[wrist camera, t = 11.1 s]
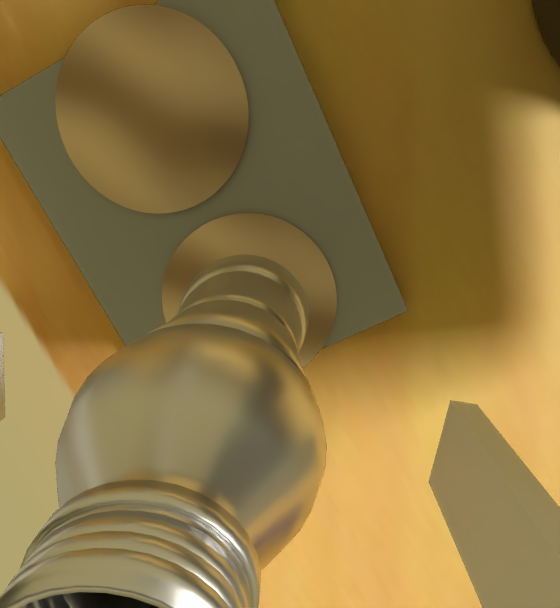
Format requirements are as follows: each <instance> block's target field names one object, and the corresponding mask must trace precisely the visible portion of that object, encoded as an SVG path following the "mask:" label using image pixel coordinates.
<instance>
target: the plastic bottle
mask: <svg viewBox="0 0 560 608" xmlns="http://www.w3.org/2000/svg"><path fill="white" fill-rule="evenodd" d="M308 324H309V308H308V302H307V298H306V296H305V293H304V290H303V288H302V287H301V285H300V284H299V282H298V281H297V279H296V278H295V277H294V276H293V275H292V274H291V273H290V272H289V271H288V270H287V269H286V268H284V267H283V266H281V265H280V264H278V263H277V262H275V261H272V260H270V259H267V258H265V257H260V256H255V255H234V256H229V257H225V258H222V259H220V260H217V261H215V262H213V263H211V264H210V265H208V266H207V267H205V268H203V269H202V270H201V271H200V272H199V273H198V274H197V275H196V276H195V277H194V278H193V279H192V281H191V282H190V284H189V285H188V287H187V289H186V291H185V293H184V295H183V298H182V300H181V303H180V305H179V309H178V313H177V315H176V316H175V317H174V318H172V319H171V320H170V321H169V322H168V323H166V324H164V325H162V326H160V327H158V328H156V329H154V330H152V331H151V332H149V333H147V334H145V335H143V336H140V337H139V338H137V339H135V340H134V341H132V342H131V343H129V344H128V345H126V346H124V347H123V348H121V349H120V350H118V351H117V352H116V353H114V354H113V355H112V356H110V357H109V358H107V359H106V360H105V361H104V362H103V363H102V364H101V365H100V366H98V367H97V368H96V369H95V370H94V371H93V372H92V373H91V374H90V375H89V376H88V377H87V379H86V380H85V382H84V383H83V385H82V386H81V388H80V389H79V391H78V392H77V394H76V395H75V397H74V400H73V402H72V405H71V408H70V410H69V413H68V416H67V419H66V421H65V424H64V426H63V429H62V432H61V435H60V437H59V440H58V446H57V454H56V462H55V465H56V479H57V492H58V502H59V509H58V510H57V511H56V512H55V513H53V514H52V516H51V517H50V518H49V520H48V521H47V522H46V524H45V525H44V527H43V528H42V529H41V530H40V532H39V533H38V535H37V536H36V537H35V539H34V540H33V542H32V543H31V545H30V546H29V548H28V549H27V551H26V554H25V556H24V559H23V562H22V564H21V568H20V570H19V571H18V573H17V574H16V575H15V577H14V578H13V579H12V581H11V582H10V584H9V585H8V586H7V588H6V589H5V590H4V592H3V593H2V594H1V596H0V608H258V605H259V596H260V582H261V570H262V569H263V568H265V567H266V566H267V565H268V564H269V563H270V562H271V561H272V560H273V559H274V558H275V557H276V556H277V555H278V554H279V553H280V552H281V551H282V550H283V549H284V548H285V547H286V546H287V545H288V543H289V542H290V541H291V540H292V539H293V538H294V537H295V536H296V534H297V533H298V532H299V531H300V530H301V528H302V526H303V524H304V523H305V521H306V519H307V517H308V516H309V514H310V512H311V509H312V507H313V504H314V501H315V498H316V495H317V493H318V490H319V487H320V483H321V480H322V477H323V474H324V470H325V463H326V449H327V444H326V437H325V431H324V424H323V420H322V417H321V414H320V410H319V406H318V404H317V401H316V399H315V396H314V394H313V391H312V389H311V386H310V385H309V383H308V380H307V378H306V376H305V374H304V372H303V369H302V367H301V365H300V360H299V351H300V349H301V347H302V345H303V342H304V339H305V336H306V332H307V328H308Z"/></svg>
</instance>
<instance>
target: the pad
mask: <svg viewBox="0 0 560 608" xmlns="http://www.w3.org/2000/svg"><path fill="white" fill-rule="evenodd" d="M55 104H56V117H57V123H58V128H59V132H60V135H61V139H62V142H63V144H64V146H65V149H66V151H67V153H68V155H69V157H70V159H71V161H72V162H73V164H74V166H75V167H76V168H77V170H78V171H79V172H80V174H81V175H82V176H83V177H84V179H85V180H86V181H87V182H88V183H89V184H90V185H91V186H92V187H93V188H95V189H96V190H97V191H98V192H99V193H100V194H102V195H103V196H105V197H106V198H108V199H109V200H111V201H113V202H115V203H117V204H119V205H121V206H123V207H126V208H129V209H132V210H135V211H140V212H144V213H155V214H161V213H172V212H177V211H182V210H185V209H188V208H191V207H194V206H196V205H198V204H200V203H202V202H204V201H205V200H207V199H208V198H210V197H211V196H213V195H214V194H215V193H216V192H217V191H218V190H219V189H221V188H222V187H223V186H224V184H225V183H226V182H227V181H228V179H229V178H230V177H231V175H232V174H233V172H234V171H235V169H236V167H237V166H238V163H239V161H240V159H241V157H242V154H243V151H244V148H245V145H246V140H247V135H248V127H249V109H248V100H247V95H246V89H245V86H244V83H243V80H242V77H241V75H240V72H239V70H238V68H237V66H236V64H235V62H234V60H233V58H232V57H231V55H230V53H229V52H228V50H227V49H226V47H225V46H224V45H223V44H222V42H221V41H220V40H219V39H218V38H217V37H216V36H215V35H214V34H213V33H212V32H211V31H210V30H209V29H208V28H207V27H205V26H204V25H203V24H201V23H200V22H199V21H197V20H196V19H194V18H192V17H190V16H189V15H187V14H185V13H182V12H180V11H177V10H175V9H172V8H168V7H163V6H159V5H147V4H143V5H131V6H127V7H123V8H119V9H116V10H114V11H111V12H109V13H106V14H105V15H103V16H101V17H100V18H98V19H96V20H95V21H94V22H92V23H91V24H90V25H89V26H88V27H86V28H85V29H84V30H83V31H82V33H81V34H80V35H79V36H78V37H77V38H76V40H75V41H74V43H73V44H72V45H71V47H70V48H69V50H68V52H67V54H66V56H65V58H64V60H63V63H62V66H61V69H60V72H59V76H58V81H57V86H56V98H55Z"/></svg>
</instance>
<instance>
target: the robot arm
mask: <svg viewBox="0 0 560 608" xmlns="http://www.w3.org/2000/svg"><path fill="white" fill-rule="evenodd" d="M532 1H533V6H534V11H535V15H536V19H537V22H538V25H539V28H540V31H541V34H542V36H543V38H544V40H545V43H546V45H547V47H548V48H549V50H550V52H551V54H552V55H553V57H554V58H555V60H556V61H557V63H558V64H559V65H560V0H532ZM3 418H5V391H4V354H3V333H0V421H1V420H2V419H3ZM429 484H430V486H431V488H432V491H433V493H434V495H435V498H436V500H437V502H438V505H439V507H440V509H441V512H442V514H443V516H444V519H445V521H446V523H447V526H448V528H449V530H450V533H451V535H452V537H453V540H454V542H455V544H456V547H457V549H458V551H459V554H460V556H461V558H462V561H463V563H464V565H465V568H466V570H467V572H468V575H469V577H470V579H471V582H472V584H473V586H474V589H475V591H476V593H477V596H478V598H479V600H480V603H481V605H482V607H483V608H560V507H559V506H558V505H557V504H556V502H555V501H554V500H553V499H552V497H551V496H550V495H549V494H548V492H547V491H546V490H545V489H544V487H543V486H542V485H541V484H540V482H539V481H538V480H537V479H536V477H535V476H534V475H533V474H532V472H531V471H530V470H529V469H528V467H527V466H526V465H525V464H524V462H523V461H522V460H521V459H520V457H519V456H518V455H517V454H516V452H515V451H514V450H513V449H512V448H511V446H510V445H509V444H508V443H507V441H506V440H505V439H504V438H503V436H502V435H501V434H500V433H499V431H498V430H497V429H496V428H495V426H494V425H493V424H492V423H491V421H490V420H489V419H488V418H487V416H486V415H485V414H484V413H483V411H482V410H481V409H480V408H479V406H478V405H477V404H471V403H464V402H458V401H451V400H450V404H449V408H448V411H447V415H446V419H445V423H444V426H443V430H442V434H441V438H440V441H439V445H438V449H437V453H436V456H435V460H434V464H433V467H432V471H431V475H430V479H429Z"/></svg>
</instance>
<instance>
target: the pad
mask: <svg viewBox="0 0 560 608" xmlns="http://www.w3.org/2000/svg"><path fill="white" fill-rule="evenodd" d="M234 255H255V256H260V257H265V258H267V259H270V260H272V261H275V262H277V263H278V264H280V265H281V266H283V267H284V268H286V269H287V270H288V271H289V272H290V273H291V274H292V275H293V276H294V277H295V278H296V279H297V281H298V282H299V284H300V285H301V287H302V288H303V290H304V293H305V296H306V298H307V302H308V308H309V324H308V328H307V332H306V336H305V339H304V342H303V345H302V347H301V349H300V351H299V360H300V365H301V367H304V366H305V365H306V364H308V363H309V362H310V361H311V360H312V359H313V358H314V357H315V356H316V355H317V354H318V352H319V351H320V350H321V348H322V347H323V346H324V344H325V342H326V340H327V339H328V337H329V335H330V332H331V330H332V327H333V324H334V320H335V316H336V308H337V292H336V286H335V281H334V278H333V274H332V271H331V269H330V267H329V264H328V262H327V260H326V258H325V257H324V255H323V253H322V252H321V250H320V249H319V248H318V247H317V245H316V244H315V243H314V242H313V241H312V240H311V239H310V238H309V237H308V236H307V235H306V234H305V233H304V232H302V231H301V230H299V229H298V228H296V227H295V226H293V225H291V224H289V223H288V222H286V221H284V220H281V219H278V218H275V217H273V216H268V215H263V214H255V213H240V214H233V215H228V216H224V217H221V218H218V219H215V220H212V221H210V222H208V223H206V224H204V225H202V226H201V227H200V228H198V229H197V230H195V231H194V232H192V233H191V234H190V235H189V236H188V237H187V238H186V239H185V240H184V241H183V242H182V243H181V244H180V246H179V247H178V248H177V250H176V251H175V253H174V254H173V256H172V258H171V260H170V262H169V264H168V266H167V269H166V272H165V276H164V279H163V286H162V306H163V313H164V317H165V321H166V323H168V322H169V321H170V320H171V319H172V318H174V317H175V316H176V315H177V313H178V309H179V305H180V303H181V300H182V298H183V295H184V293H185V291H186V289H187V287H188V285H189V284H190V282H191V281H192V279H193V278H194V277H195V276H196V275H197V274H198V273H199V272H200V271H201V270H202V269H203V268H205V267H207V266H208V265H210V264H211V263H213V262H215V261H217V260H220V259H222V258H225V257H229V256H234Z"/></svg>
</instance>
